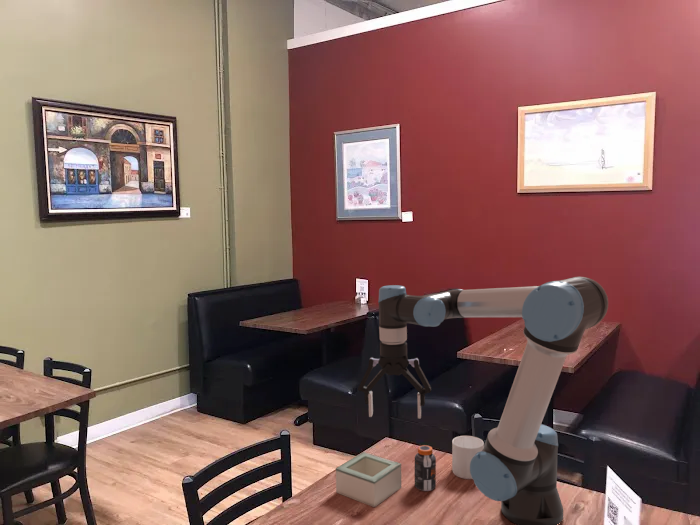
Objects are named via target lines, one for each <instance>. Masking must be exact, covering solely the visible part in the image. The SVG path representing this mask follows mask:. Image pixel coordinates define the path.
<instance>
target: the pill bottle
mask: <svg viewBox="0 0 700 525" xmlns="http://www.w3.org/2000/svg"><path fill="white" fill-rule="evenodd" d="M436 467H437V458H436V456H435V454H434V453H433V447H432V446H430V445H427V444H426V445H423V444H422V445H419V446H418V448H417V453H416V454H415V455H414V487H415V488H416V489H417V490H419V491H423V492H429V491H433V490H435V489H436V487H437V486H436V485H437V482H436V481H437V480H436V478H437V474H436V473H437V468H436Z"/></svg>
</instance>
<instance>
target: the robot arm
mask: <svg viewBox="0 0 700 525" xmlns="http://www.w3.org/2000/svg"><path fill="white" fill-rule="evenodd" d="M377 303H378V315H379V316H378V320H379V327H378V329H379V340H380V342H379V358H374V357H373V356H371V357H370V358H369V360H368V364H367V366H368V367H367V369H366V371H365V373H364V376H363V377H362V379H361V381H360V384H358V387H357V390H358V392H362V393H364V404H365V405H368V417H369V418H372V417H373V414H374V404H373V403H374V402H373V399H374V398H373V391H372V389H373V388H374V387H375V386H376V384H377V383H378V382H379V381H380V380H381V379H382V378H383V376H384V375H385V374H386V375H388V376H393V375H394V376H400V375H403V377H404V378H406V379H407V381H408V382H409V383H410V384H411V385H412V387H413V388H415V390H416V391H417V394H416V395H417V396H416V397H417V419H421V418H422V407H424V406H425V405H426V404H425V403H426V394H430V393H432V386H431V384H430V383H429V381H428V379H427V377H426V375H425V373H424V371H423V370H422V368H421V366H420V359H419V358H418V357H414V358H411V359H409V358H408V343H407V341H408V340H407V339H408V334H407V333H408V329H407V324H413V325H417V326H421V327H428V328H429V327H433V328H434V327H438V326H440V325H441V323H443V322H444V320H448V319H457V318H459V319H462V318H463V319H465V318H522V320H523V322H524V328H523V332H522V334H523V335H524V338H526V341H527V342H526V345H525V347H524V351H523V353H522V356H521V359H520V363H519V365H518V368H517V371H516V374H515V377H514V379H513V383H512V384H511V388H510V390H509V394H508V397H507V400H506V403H505V406H504V409H503V412H502V414H501V417H500V419H499V420H500V421H499V423H498V424H497V427H495V428H492V429H490V431H488V434H487V435H486V436H487V437H486V438H485V439H486V440H485V442H484V448H483V450H482V451H481V452H478V453H476V454H475V456H474V457H473V458H472V460H471V462H470V473H471V477H472V479H471V480H472V481H473V483H474V485H475V486H476V488H477V489H478V491H480V492H481V493H482V495H484V496H485V497H487V498H488V499H490V500H492V501H494V502H495V501H496V502H500V509H501V510H500V511H501V513H502V514H503V516H504V517H505V519H507V520H508V521H510V522H511V523H513V524H515V525H557V524H559V523H560V522H561V521H562V519H563V520H564V506H563V503H562V501H561V500H562V499H561V497H560V493H559V491H558V487H557V486H558V485H557V484H558V481H557V480H558V451H559V450H558V448H559V442H558V433H557V431H556V430H555V429H553V428H552V427H551V426H547V425H546V424H542V422H543V420H544V417H545V416H546V413H547V410H548V407H549V404H550V402H551V398H552V396H553V394H554V390H555V389H556V385H557V383H558V381H559V377H560V375H561V372H562V369H563V367H564V365H565V363H566V359H567V356H569V355H572V354H574V353H576V352H577V351H578V349H579V347H580V343H581V341H582V338H583V336H584V333H585V331H586V330H588V329H590V328H594V327H595V326H597V325H598V324H599V323H600V322H601V321H602V320H604V318H605V316H606V315H607V312H608V309H609V297H608V295H607V293H606V290H605V289H604V287H603V286H602V285H601V284H600V283H599V282H598V281H596V280H595V279H592V278H589V277H585V276H574V277H570V278H567V279H566V278H565V279H560V280H552V281H547V282H545V283H543V284H541V285H538V286H537V285H533V286H517V287H496V288H494V287H493V288H476V289H463V288H462V289H461V288H453V289H450V290H447V291H440V292H435V293H429V294H425V295H411V294H408V293H407V290H406V287H405V286H404V285H398V284H397V285H396V284H395V285H394V284H392V285H389V284H388V285H384V286H381V287H380V288H379V289H378V301H377ZM377 364H378V366H380V368H381V369H380V370H379V372H378V373H377V374H376V375H375V376H374V377H373V379H371V381H370V382H369V383H368V385H366V383H367V381H368V378H369V376H370V374H371V372H372V371H373V368H375V367H376V366H377ZM409 365H411V367H412V368H414V370H415V372H416V375H417V376H418V378H419V379H420V382H421V383H422V384H420V382H419V381H418V380H417V379H416V378H415V376H414V375H413V374H412V373H411V372H410V371H409V369H408V366H409ZM562 522H563V521H562ZM562 522H561V523H562ZM561 523H560V524H561ZM560 524H559V525H560Z"/></svg>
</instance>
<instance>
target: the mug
mask: <svg viewBox="0 0 700 525" xmlns="http://www.w3.org/2000/svg"><path fill="white" fill-rule="evenodd" d="M451 442H452V445H451V446H452V447H451V448H452V449H451V450H452V451H451V453H452V456H451V458H452V459H451V460H452V462H451V471H452V473H453V475H454V476H456V477H458V478H461V479H465V480H473V479H472V477H471V473H470V462H471V460H472V458H473V457H474V456H475V454H476V453H478V452H481V451H482V450H483V448H484V445H485V442H484V441H483V439H482V438H479V437H477V436H474V435H473V436H472V435H460V436H459V435H458V436H456V437H454V438H453V439H452V441H451Z"/></svg>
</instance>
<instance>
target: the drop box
mask: <svg viewBox="0 0 700 525" xmlns="http://www.w3.org/2000/svg"><path fill="white" fill-rule="evenodd" d="M401 488H402V463H400V462H398V461H394V460H390V459H388V458H385V457H382V456H379V455H375V454H373V453H369V452H366V451H362V452H361V453H359V454H357V455H356V456H354V457H353V458H351V459H349V460H348V461H346V462H344V463H342V464H341V465H339V466H338V467H336V468H335V492H336V494H339V495H342V496H344V497H346V498H349V499H351V500H352V499H353V500H355V501H357V502H360V503H361V504H362V503H363V504H364V505H368V506H369V507H373V508H376V507H377V506H379V505H380V504H381V503H383V502H384V501H385V500H387V499H389V497H391V496H392V495H394V493H396V492H398V491H399V490H400V489H401Z"/></svg>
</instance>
